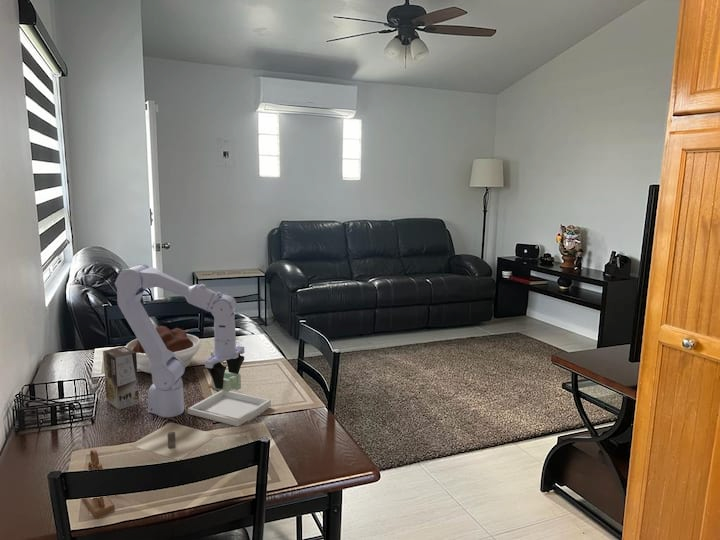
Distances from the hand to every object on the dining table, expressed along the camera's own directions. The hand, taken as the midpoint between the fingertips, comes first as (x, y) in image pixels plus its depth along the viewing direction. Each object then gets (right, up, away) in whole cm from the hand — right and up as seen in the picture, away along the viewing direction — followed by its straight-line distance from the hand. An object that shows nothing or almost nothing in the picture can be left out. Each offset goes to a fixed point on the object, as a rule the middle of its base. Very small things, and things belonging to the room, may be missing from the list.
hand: (226, 384), depth 148 cm
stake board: (-9, -12, -15) cm, 21 cm away
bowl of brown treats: (-31, -3, +37) cm, 49 cm away
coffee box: (-34, -8, +9) cm, 36 cm away
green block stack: (0, -1, 0) cm, 1 cm away
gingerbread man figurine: (-17, -16, -40) cm, 46 cm away
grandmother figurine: (-9, -6, +22) cm, 24 cm away
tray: (0, -9, +4) cm, 10 cm away
